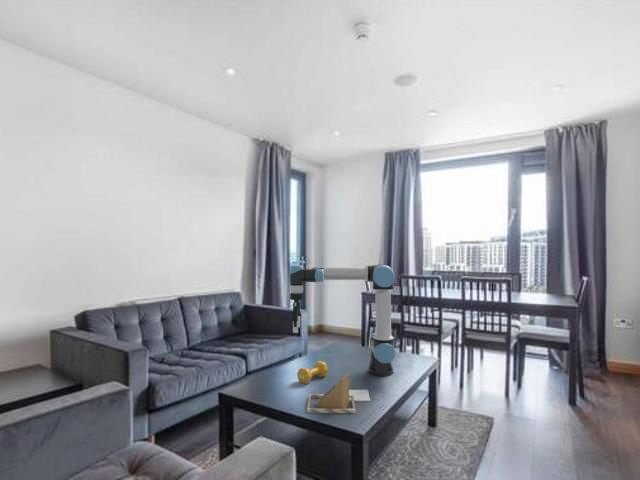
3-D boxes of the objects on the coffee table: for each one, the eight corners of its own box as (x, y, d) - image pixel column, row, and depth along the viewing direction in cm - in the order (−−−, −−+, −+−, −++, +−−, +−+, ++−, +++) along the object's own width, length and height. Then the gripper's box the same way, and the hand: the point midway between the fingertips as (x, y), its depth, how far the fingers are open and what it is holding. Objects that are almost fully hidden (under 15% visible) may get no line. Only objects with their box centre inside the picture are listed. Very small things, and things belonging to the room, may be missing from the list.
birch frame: (353, 397, 181) (353, 394, 181) (355, 413, 164) (355, 409, 164) (309, 397, 182) (309, 394, 182) (306, 412, 165) (306, 409, 165)
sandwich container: (320, 398, 180) (320, 368, 180) (349, 404, 173) (349, 373, 174) (312, 405, 172) (312, 373, 173) (342, 412, 166) (342, 378, 166)
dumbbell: (307, 386, 196) (307, 371, 197) (295, 382, 202) (295, 367, 203) (329, 376, 211) (329, 362, 211) (317, 373, 217) (317, 359, 217)
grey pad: (367, 391, 189) (367, 389, 189) (370, 401, 176) (370, 400, 176) (342, 390, 189) (342, 389, 189) (343, 401, 176) (343, 400, 176)
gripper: (292, 290, 220) (292, 325, 220) (287, 295, 195) (287, 335, 195) (304, 290, 220) (304, 325, 219) (301, 295, 195) (301, 335, 194)
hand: (296, 329), depth 207 cm, fingers open, 13 cm apart
